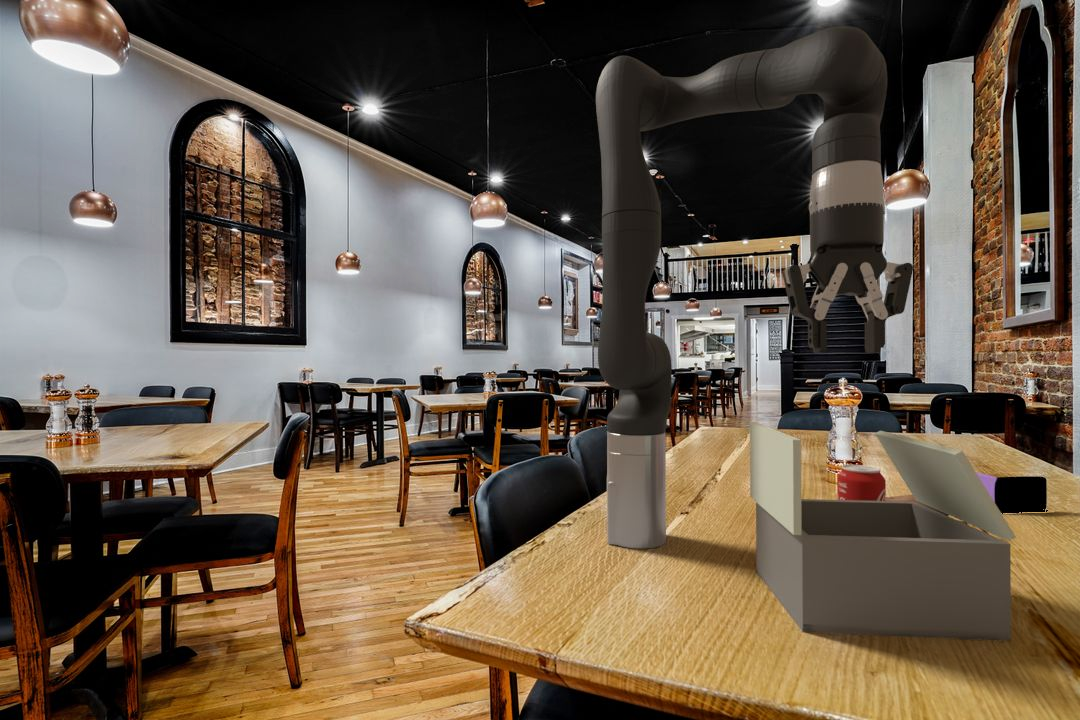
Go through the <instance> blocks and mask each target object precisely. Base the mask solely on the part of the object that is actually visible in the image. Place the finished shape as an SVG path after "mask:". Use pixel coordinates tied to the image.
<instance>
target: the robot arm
mask: <svg viewBox="0 0 1080 720" xmlns="http://www.w3.org/2000/svg"><path fill="white" fill-rule="evenodd" d="M887 90H888V70H887V62H886V60H885V57H884V55H883V53H882V52H881V50H880V49H879V48H878V46H877V45H876V44H875V43H874V42H873V40H872V39H871V37H870V36H869V35H868V34H867V33H866V32H865V31H864V30H862V29H860V28H858V27H854V26H848V25H847V26H845V25H841V26H831V27H827V28H824V29H821V30H818V31H815V32H813V33H811V34H808V35H806V36H803V37H802V38H799V39H796V40H794V41H792V42H789V43H788V44H786V45H784V46H782V47H778V48H777V47H775V48H770V49H763V50H758V51H751V52H746V53H741V54H738V55H733V56H730V57H728V58H726V59H723V60H720V61H719V62H717V63H716V64H714V65H712V66H711V67H710V68H708V69H707V70H705V71H703V72H701V73H699V74H697V75H696V74H695V75H692V76H685V77H677V76H676V77H673V76H664V75H661V74H660V72H658V71H656V70H655V69H654V68H652V67H650V66H649V65H647V64H646V63H644V62H642V61H641V60H639V59H636V58H634V57H632V56H629V55H618V56H616V57H614V58H611V60H609V61H608V62H607V63H606V65H605V66H604V68H603V69H602V71H601V73H600V76H599V78H598V82H597V85H596V91H595V106H596V107H595V109H596V111H595V112H596V117H597V118H596V121H597V127H598V128H597V129H598V138H599V147H600V157H601V158H600V159H601V162H600V163H601V190H602V195H601V197H602V204H601V205H602V208H601V209H602V210H601V211H602V212H601V243H602V245H601V246H602V247H601V248H602V300H601V301H602V302H601V314H600V316H601V317H600V325H599V333H598V334H599V335H598V346H597V365H598V369H599V372H600V375H601V377H602V379H603V380H604V381H605V383H606V384H607V385H608V386H610V387H611V388H613V389H615V390H619V393H618V394H619V395H618V400H617V402H616V404H615V406H614V408H613V409H612V410H611V411H610V412H609V413H608V415H607V417H606V418H607V419H606V436H607V438H606V442H607V443H606V446H607V447H606V457H607V458H606V460H607V461H606V462H607V463H606V465H607V466H606V467H607V469H606V471H607V473H606V534H607V535H606V539H607V544H608V545H616V546H619V547H623V548H629V549H639V550H641V549H645V550H646V549H655V548H657V547H661V546H663V545H664V544H665V543H666V542H667V488H666V487H667V481H666V480H667V473H666V471H667V464H666V463H667V462H666V459H667V456H666V450H667V449H666V448H667V447H666V446H667V445H666V444H667V443H666V440H667V439H666V430H667V429H666V425H667V424H666V423H667V420H668V417H669V415H670V410H671V400H672V399H671V398H672V373H673V372H672V370H673V367H672V357H671V353H670V349H669V346H668V345H667V343H666V342H665V340H664V339H663V338H661V336H659V335H657V334H654V333H652V332H647V327H646V325H647V324H646V298H647V293H648V287H649V285H650V282H651V278H652V276H653V273H654V271H655V268H656V266H657V262H658V260H659V256H660V251H661V245H662V211H661V210H662V209H661V201H660V198H659V193H658V191H657V186H656V184H655V182H654V179H653V176H652V174H651V171H650V169H649V167H648V164H647V161H646V157H645V155H644V151H643V146H642V141H641V140H642V138H641V132H647V131H651V130H655V129H659V128H662V127H666V126H668V125H672V124H676V123H680V122H683V121H688V120H692V119H696V118H701V117H705V116H713V115H719V114H727V113H739V112H749V111H750V112H751V111H762V110H772V109H773V110H774V109H778V108H782V107H785V106H788V105H790V103H791V102H792V101H794V99H795V98H796V97H797V96H801V95H805V94H807V95H808V94H811V95H812V94H816V95H818V96H819V97H820V98H821V99H822V102H823V121H822V123H821V124H820V125H819V126H818V127H817V128H816V130H815V131H814V134H813V137H812V147H811V155H812V157H811V158H812V159H811V163H812V164H811V169H812V170H811V174H812V175H811V184H810V193H809V204H808V210H809V251H810V256H809V258H808V261H807V263H805V264H801V265H797V264H793V265H791V266H789V267H787V268H784V269H783V270H782V277H783V282H784V286H785V291H786V295H787V300H788V305H789V311H790V314H791V316H792V317H798V318H801V319H804V320H805V321H806V322H807V344H808V347H809V349H812V352H813V354H826V353H827V350H828V349H827V347H828V344H827V342H828V337H827V336H828V335H827V334H828V333H827V332H828V331H827V330H828V329H827V326H828V324H827V322H828V321H826V320H824V319H825V318H826V315H827V313H828V310H829V308H830V305H832V303H833V302H834V300H835V298H836V297H838V296H841V295H844V296H847V297H848V296H849V297H855V299H856V302H857V304H858V305H860V306H861V308H862V311H863V313H864V315H865V317H866V320H867V321H864V352H865V353H866V354H879V353H880V352H881V349H882V348H885V345H886V321H887V319H889V318H890V317H894V316H896V315H901V314H903V313H904V312H905V308H906V304H907V299H908V295H909V289H910V285H911V280H912V276H913V272H914V266H913V264H912V263H911V262H905V263H895V262H889V261H888V260H887V258H886V257H885V255H884V253H883V252H884V251H883V247H884V242H885V238H884V236H885V233H884V231H885V229H884V228H885V226H884V224H885V221H884V218H885V217H884V213H885V212H884V209H885V207H884V179H883V174H882V166H881V165H882V164H881V163H882V161H881V160H882V157H881V153H882V151H881V149H882V148H881V147H882V145H881V144H882V142H881V141H882V140H881V128H880V126H881V123H882V119H883V115H884V108H885V103H886V98H887ZM883 273H884V279H885V281H886V282H887V285H886V289H885V295H884V301H883V293H882V291H881V288H880V286H879V284H878V282H877V281H878V280H879V278H880V277H881V275H882V274H883ZM808 274H809V276H810V277H811V278H812V280H813V281H814V282H815V284H816V285H817V286H816V289H815V291H814V293H813V296H812V298H811V304H810V306H809V302H808V299H807V293H806V288H805V284H804V283H805V282H806V281H807V279H808Z"/></svg>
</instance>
